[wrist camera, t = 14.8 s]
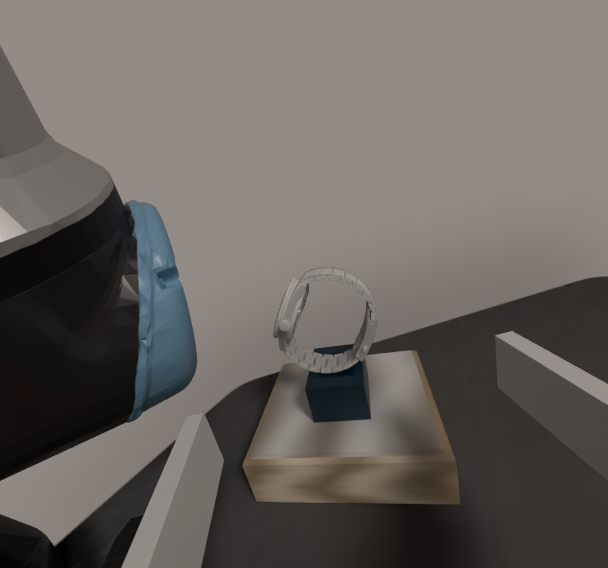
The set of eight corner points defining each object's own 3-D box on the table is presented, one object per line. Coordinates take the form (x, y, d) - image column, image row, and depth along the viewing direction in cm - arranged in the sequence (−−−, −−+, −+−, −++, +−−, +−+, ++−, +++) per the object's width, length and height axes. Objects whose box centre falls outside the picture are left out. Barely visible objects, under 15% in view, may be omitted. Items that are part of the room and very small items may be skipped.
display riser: (256, 501, 21) (240, 461, 20) (290, 391, 32) (281, 361, 31) (460, 504, 18) (455, 456, 17) (420, 380, 29) (415, 347, 28)
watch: (302, 379, 27) (271, 271, 24) (387, 370, 26) (366, 253, 22) (289, 425, 22) (248, 296, 19) (396, 418, 20) (370, 274, 17)
